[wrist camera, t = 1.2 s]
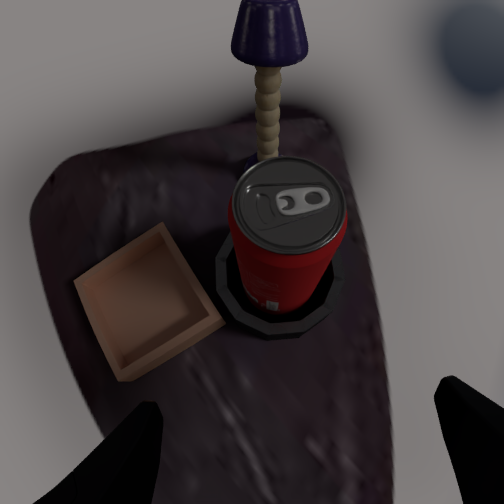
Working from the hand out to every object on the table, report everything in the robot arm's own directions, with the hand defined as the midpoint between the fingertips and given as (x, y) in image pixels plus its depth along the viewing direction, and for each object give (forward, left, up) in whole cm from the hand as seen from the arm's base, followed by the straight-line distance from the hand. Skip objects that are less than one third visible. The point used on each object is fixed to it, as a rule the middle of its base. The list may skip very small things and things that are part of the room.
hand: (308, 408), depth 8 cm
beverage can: (+6, -4, -14) cm, 16 cm away
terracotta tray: (+10, +5, -13) cm, 18 cm away
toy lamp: (+15, -10, -14) cm, 23 cm away
